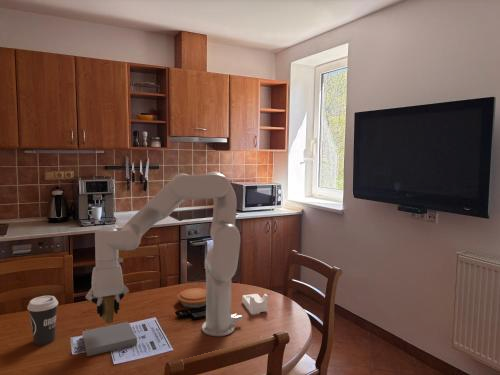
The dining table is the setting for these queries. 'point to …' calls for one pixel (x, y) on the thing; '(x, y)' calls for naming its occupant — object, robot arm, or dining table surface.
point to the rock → (108, 308)
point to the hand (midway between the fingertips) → (108, 313)
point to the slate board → (108, 338)
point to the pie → (193, 297)
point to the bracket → (255, 303)
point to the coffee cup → (43, 319)
